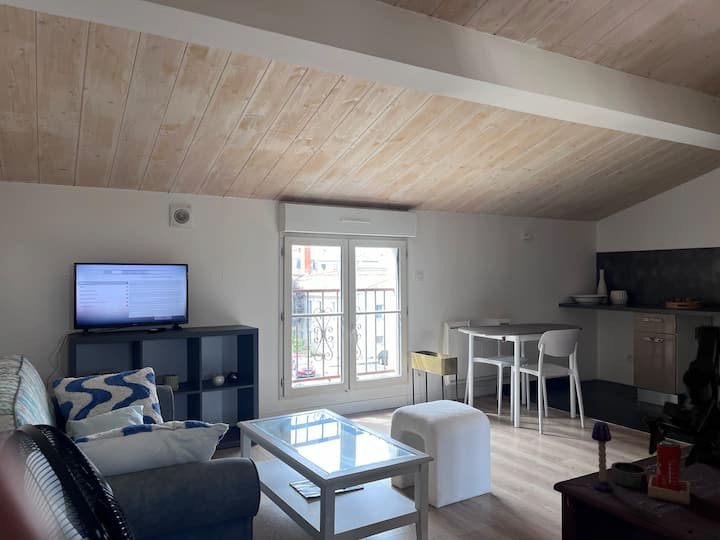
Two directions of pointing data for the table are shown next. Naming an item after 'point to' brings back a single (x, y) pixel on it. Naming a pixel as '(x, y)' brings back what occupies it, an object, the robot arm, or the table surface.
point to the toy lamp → (602, 454)
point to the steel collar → (629, 474)
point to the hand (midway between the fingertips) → (667, 459)
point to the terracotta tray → (669, 492)
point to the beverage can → (669, 465)
